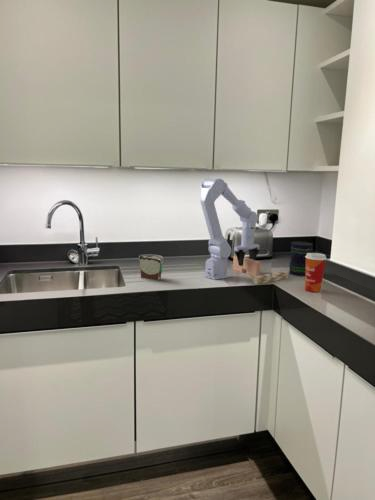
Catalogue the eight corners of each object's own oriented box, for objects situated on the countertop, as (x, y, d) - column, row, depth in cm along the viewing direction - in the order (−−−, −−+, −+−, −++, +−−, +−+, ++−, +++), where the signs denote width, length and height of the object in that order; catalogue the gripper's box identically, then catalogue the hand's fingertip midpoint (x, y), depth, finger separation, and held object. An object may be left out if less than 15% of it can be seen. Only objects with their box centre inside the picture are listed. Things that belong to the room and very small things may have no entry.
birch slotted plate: (256, 284, 160) (256, 277, 159) (253, 283, 161) (253, 276, 161) (287, 278, 171) (288, 271, 170) (284, 277, 172) (284, 271, 172)
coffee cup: (299, 287, 157) (302, 252, 154) (318, 287, 157) (321, 252, 155) (306, 293, 149) (310, 256, 146) (326, 293, 149) (330, 256, 146)
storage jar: (308, 277, 174) (311, 245, 171) (287, 274, 178) (289, 243, 175) (311, 272, 183) (314, 242, 180) (290, 270, 187) (293, 240, 184)
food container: (169, 278, 164) (169, 256, 162) (161, 281, 159) (161, 258, 157) (146, 274, 170) (146, 253, 169) (138, 277, 165) (138, 255, 163)
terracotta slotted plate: (259, 276, 173) (260, 261, 172) (256, 276, 172) (257, 262, 171) (235, 269, 186) (236, 255, 184) (232, 269, 185) (233, 255, 183)
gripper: (242, 238, 168) (240, 268, 171) (265, 236, 176) (263, 264, 179) (231, 236, 174) (230, 265, 176) (254, 234, 182) (252, 261, 185)
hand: (246, 264), depth 178 cm, fingers open, 6 cm apart
